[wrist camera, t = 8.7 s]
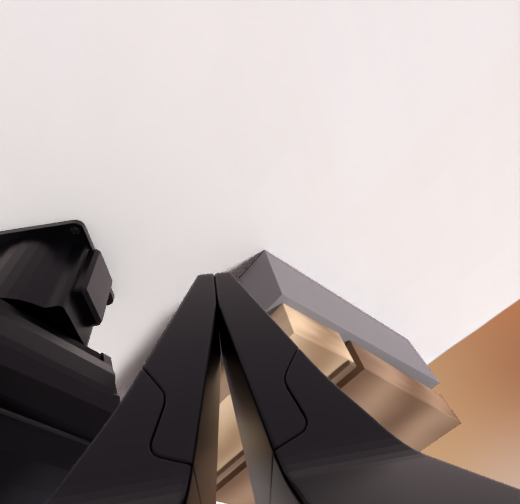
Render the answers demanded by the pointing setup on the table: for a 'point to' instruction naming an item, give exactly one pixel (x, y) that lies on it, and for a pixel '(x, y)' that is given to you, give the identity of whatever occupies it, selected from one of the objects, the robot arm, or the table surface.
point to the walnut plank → (373, 413)
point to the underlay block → (331, 314)
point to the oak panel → (314, 347)
